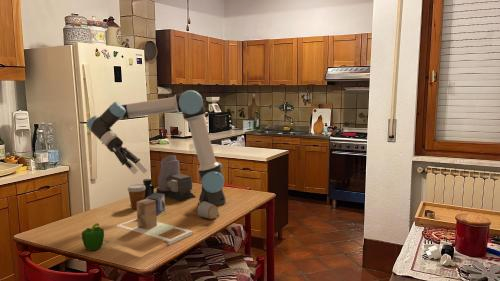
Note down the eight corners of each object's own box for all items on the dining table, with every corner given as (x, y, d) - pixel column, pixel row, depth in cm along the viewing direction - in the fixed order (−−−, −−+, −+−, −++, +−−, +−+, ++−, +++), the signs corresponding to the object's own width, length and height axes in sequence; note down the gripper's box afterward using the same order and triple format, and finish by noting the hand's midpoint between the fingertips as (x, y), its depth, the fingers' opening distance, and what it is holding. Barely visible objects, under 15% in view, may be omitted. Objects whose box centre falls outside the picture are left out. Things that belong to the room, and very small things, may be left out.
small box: (157, 219, 189) (156, 198, 188) (145, 218, 191) (144, 198, 189) (166, 212, 200) (165, 193, 198) (154, 211, 201) (153, 192, 200)
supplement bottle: (139, 199, 223) (138, 180, 222) (149, 197, 229) (148, 177, 227) (147, 201, 219) (146, 181, 218) (156, 199, 224) (155, 179, 223)
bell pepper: (82, 254, 149) (81, 229, 148) (82, 246, 157) (81, 223, 155) (105, 250, 153) (104, 226, 151) (104, 243, 160) (103, 220, 159)
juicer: (150, 192, 240) (149, 154, 237) (172, 187, 251) (171, 151, 248) (176, 202, 218) (174, 160, 215) (199, 196, 229) (198, 156, 226)
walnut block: (137, 227, 174) (136, 201, 172) (147, 223, 179) (146, 198, 177) (146, 229, 171) (145, 203, 169) (156, 225, 176) (155, 200, 174)
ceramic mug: (208, 221, 185) (208, 206, 184) (197, 217, 191) (197, 202, 190) (223, 216, 193) (223, 201, 193) (212, 213, 199) (212, 198, 198)
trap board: (116, 228, 177) (115, 225, 176) (139, 220, 188) (139, 217, 188) (169, 244, 157) (169, 241, 157) (192, 234, 169) (192, 230, 169)
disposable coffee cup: (133, 211, 202) (132, 189, 201) (125, 207, 209) (124, 186, 208) (149, 207, 208) (148, 186, 207) (141, 203, 216) (140, 183, 214)
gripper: (117, 148, 202) (144, 176, 200) (95, 145, 177) (126, 178, 175) (127, 138, 202) (154, 166, 200) (106, 134, 177) (137, 166, 175)
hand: (141, 171), depth 188 cm, fingers open, 13 cm apart
